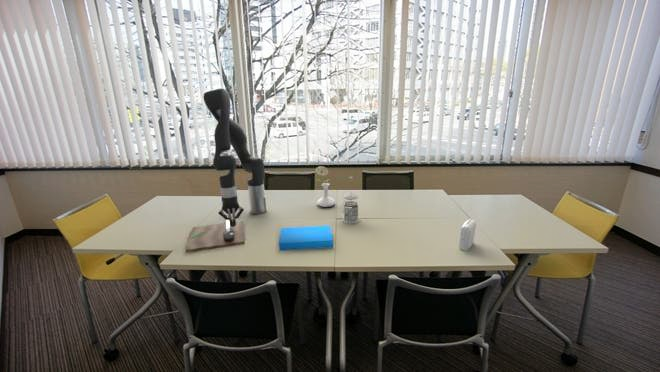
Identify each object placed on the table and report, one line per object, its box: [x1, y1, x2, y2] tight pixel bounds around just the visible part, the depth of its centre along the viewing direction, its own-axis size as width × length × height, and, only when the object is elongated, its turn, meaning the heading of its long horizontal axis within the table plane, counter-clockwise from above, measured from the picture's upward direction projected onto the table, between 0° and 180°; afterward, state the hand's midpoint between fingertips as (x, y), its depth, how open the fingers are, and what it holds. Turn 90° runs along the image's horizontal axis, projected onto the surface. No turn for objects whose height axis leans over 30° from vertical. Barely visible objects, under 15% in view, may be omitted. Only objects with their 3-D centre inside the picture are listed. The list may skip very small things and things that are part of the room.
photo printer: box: [458, 219, 477, 251], centre depth 140 cm, size 10×4×12 cm, turn 140°
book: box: [278, 225, 334, 251], centre depth 149 cm, size 17×4×25 cm
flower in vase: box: [315, 165, 336, 208], centre depth 190 cm, size 13×11×25 cm
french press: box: [341, 176, 361, 224], centre depth 168 cm, size 10×12×25 cm
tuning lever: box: [223, 220, 235, 242], centre depth 155 cm, size 20×5×3 cm, turn 19°
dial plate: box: [185, 220, 246, 254], centre depth 155 cm, size 26×25×2 cm
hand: (233, 226), depth 160 cm, fingers closed
